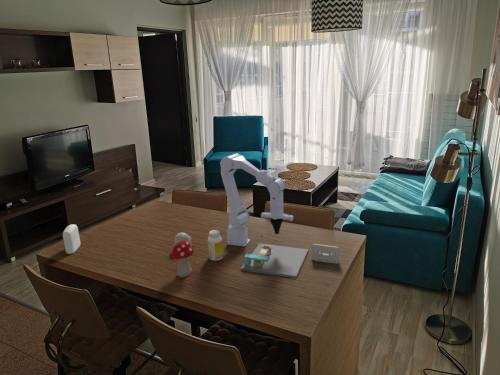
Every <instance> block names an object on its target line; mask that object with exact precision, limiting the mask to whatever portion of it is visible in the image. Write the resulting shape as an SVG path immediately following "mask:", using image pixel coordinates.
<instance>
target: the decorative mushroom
mask: <svg viewBox="0 0 500 375" xmlns="http://www.w3.org/2000/svg"><path fill="white" fill-rule="evenodd" d="M194 252H195V250H194V248H193V246H192V243H191V244H190V243H189V242H188V241H179V242H178V243H176V244H175V246H174V248H173V247H172V250H171V254H170V255H171V257H172V258H173V259H175V260H178V265H177V266H178V267H177V271H176V274H177V277H179V278H185V277H188V276H190V275H192V270H193V269H192V266H191V265H190V261H189V258H188V257H191V256H192V255H193V254H194Z"/></svg>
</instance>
